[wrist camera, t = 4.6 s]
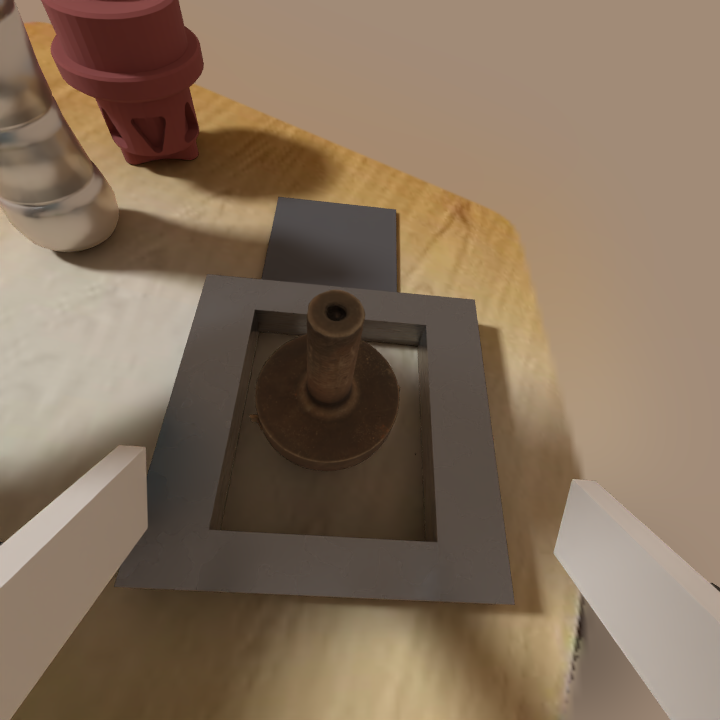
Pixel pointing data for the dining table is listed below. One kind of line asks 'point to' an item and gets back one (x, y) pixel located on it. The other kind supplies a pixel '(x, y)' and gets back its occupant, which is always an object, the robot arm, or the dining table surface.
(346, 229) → the rubber mat
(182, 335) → the dining table surface
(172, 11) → the mechanical component
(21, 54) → the plastic bottle
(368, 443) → the industrial component
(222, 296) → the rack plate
